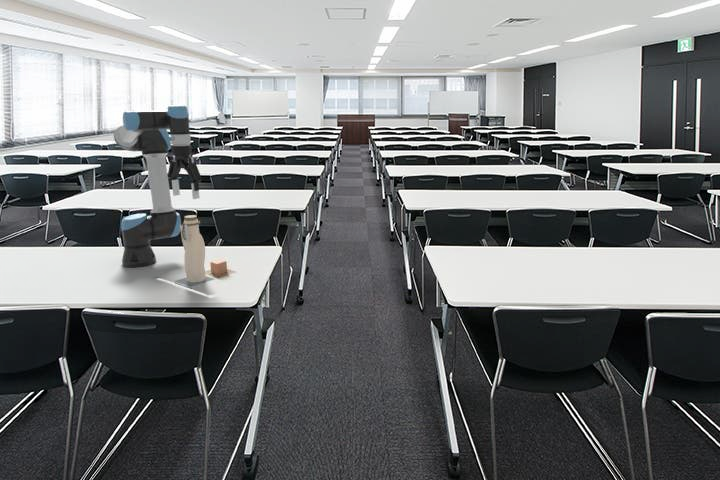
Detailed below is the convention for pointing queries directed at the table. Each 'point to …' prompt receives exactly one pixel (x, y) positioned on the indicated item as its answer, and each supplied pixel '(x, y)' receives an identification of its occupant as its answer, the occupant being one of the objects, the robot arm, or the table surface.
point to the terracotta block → (218, 266)
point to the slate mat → (185, 282)
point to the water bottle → (193, 249)
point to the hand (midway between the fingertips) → (186, 196)
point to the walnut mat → (219, 274)
